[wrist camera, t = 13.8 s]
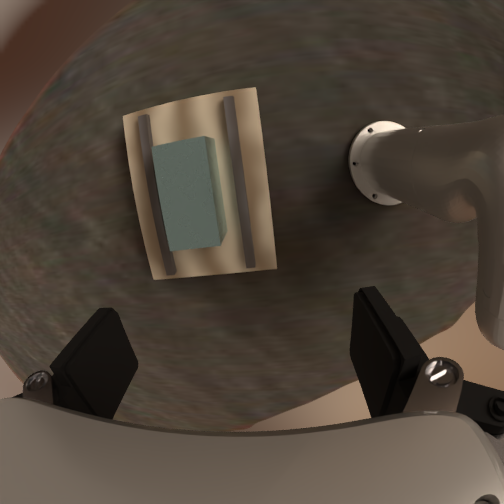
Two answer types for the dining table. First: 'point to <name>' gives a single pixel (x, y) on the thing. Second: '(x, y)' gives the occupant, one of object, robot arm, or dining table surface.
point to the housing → (190, 193)
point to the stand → (231, 178)
